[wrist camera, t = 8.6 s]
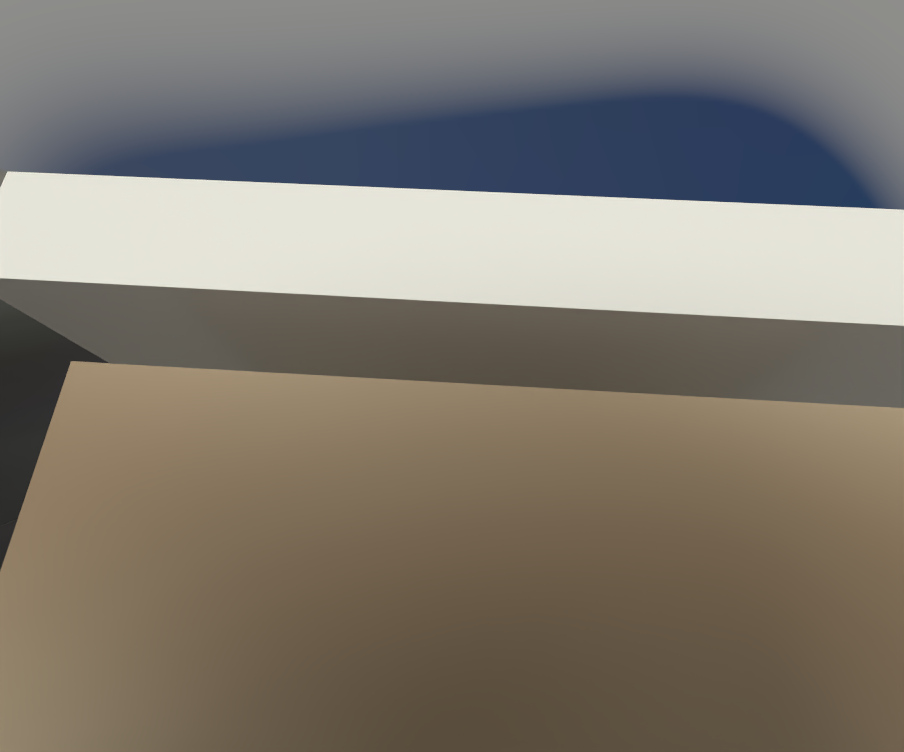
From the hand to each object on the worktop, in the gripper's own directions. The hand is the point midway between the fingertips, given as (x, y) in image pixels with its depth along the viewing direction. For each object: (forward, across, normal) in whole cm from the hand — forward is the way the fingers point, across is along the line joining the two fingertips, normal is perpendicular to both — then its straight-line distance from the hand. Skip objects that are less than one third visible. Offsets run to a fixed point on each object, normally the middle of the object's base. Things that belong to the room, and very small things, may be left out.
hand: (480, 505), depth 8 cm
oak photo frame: (+5, 0, +7) cm, 8 cm away
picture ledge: (+6, 0, +9) cm, 10 cm away
